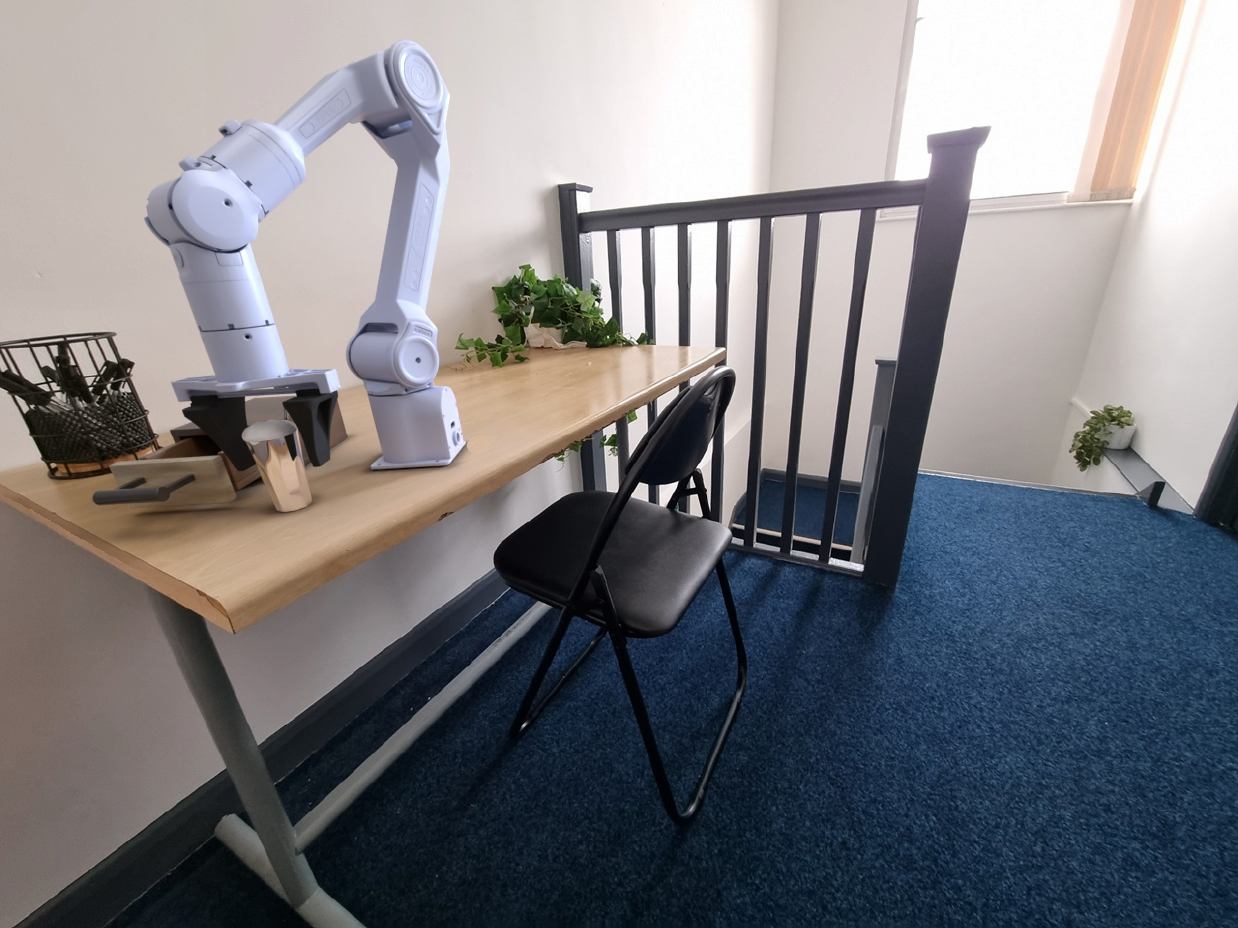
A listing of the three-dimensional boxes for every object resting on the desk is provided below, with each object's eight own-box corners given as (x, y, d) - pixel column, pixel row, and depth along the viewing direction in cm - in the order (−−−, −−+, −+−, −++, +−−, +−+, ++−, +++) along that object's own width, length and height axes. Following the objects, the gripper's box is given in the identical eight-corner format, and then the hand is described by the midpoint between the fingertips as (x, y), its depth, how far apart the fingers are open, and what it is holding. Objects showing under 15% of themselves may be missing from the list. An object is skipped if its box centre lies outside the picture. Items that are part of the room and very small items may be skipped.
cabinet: (288, 477, 59) (270, 424, 57) (191, 482, 59) (169, 430, 57) (347, 437, 73) (335, 393, 70) (269, 441, 73) (254, 397, 70)
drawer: (194, 525, 47) (173, 478, 45) (84, 531, 47) (59, 485, 45) (304, 455, 63) (293, 419, 62) (223, 460, 63) (209, 424, 62)
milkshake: (334, 492, 54) (307, 403, 50) (300, 515, 49) (267, 418, 45) (295, 492, 55) (266, 404, 51) (258, 515, 50) (222, 420, 46)
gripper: (119, 338, 42) (182, 485, 47) (290, 328, 41) (335, 476, 46) (186, 328, 48) (235, 458, 53) (334, 319, 48) (369, 450, 53)
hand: (284, 465), depth 50 cm, fingers open, 7 cm apart
